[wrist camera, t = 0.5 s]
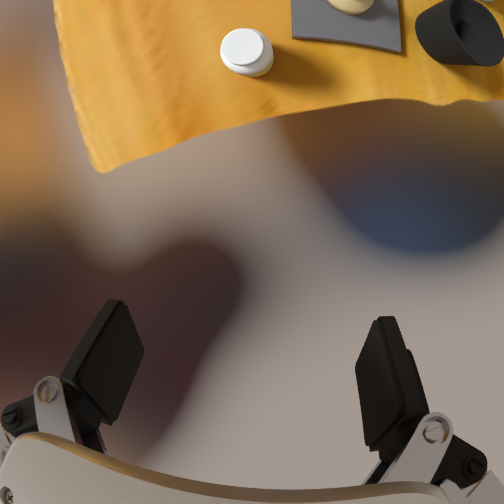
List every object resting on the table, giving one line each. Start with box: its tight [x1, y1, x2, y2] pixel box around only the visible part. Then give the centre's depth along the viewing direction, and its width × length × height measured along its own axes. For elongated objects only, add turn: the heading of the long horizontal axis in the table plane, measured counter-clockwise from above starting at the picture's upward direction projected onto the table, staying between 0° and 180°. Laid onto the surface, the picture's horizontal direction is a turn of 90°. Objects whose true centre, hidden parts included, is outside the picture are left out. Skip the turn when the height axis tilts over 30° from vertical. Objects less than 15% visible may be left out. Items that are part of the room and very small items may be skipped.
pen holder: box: [415, 0, 504, 66], centre depth 18 cm, size 9×9×10 cm
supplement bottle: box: [221, 28, 274, 78], centre depth 25 cm, size 5×5×10 cm
